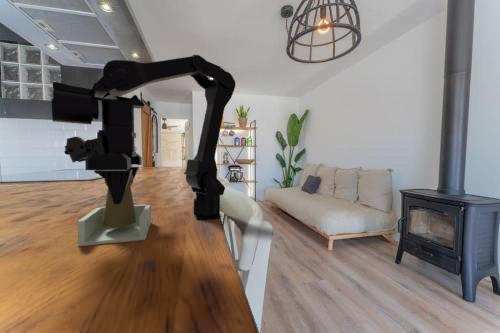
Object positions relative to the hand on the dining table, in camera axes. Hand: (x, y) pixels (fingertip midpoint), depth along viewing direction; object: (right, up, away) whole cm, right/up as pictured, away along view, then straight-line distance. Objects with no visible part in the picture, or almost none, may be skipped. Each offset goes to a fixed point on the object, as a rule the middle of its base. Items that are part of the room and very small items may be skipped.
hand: (120, 201), depth 46 cm
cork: (0, -5, 0) cm, 5 cm away
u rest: (0, -7, 0) cm, 7 cm away
